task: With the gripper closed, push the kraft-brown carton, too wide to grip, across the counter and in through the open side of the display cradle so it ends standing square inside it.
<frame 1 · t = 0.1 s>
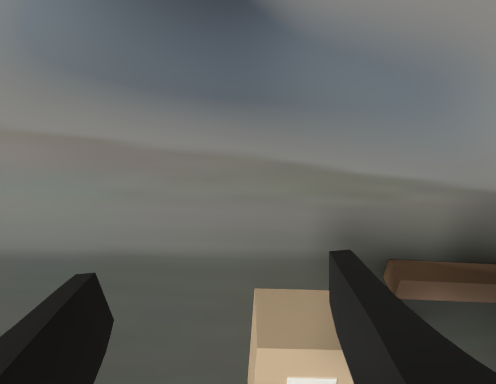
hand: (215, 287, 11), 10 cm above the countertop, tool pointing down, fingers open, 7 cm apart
carton: (296, 337, 27), on the countertop
cradle: (445, 345, 27), on the countertop
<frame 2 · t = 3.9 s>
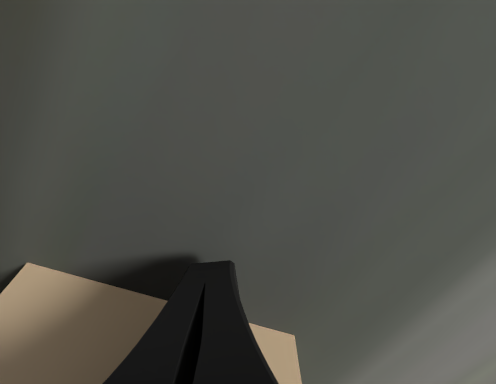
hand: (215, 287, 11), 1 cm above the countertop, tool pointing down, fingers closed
carton: (148, 356, 14), on the countertop
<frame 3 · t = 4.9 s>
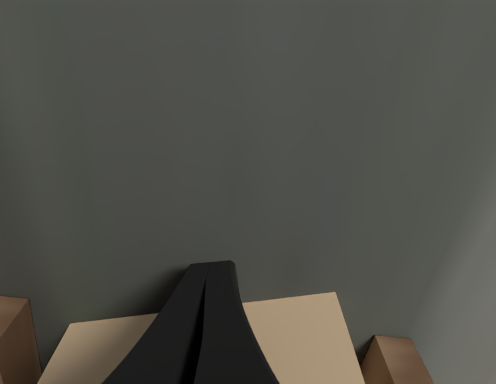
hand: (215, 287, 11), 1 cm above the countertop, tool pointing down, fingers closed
carton: (217, 368, 15), on the countertop, touching gripper
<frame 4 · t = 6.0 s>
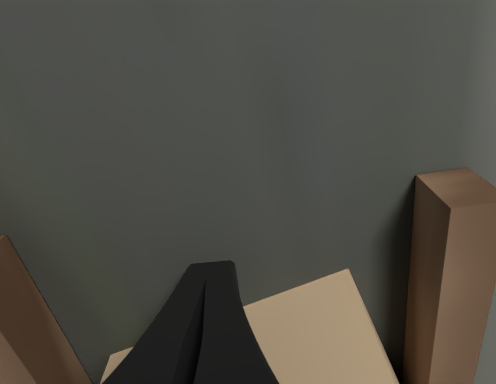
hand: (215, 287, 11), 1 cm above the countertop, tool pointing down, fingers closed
carton: (259, 364, 15), on the countertop, touching gripper
cradle: (238, 346, 14), on the countertop
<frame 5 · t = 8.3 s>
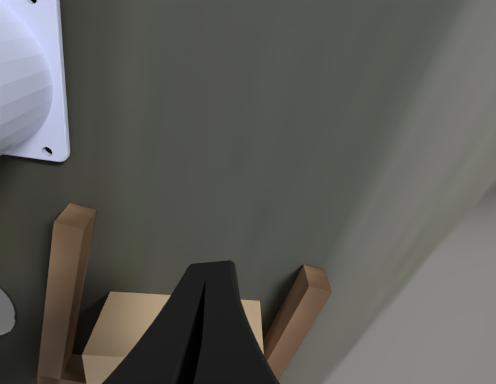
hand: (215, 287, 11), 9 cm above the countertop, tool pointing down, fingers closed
carton: (185, 329, 25), on the countertop
cradle: (179, 312, 24), on the countertop
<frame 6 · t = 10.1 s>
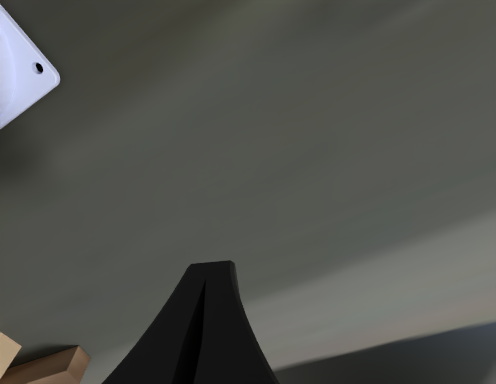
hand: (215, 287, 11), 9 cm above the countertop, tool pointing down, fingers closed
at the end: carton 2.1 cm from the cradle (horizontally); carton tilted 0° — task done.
